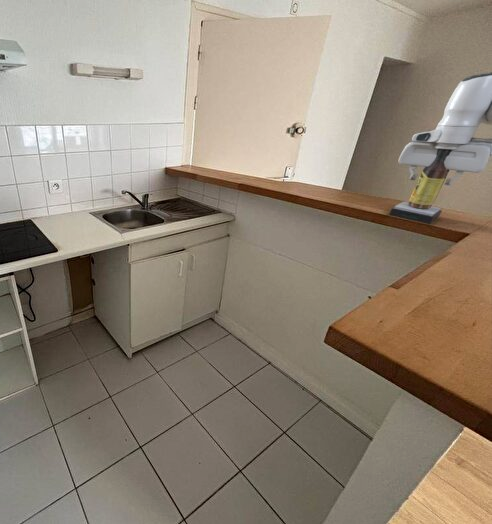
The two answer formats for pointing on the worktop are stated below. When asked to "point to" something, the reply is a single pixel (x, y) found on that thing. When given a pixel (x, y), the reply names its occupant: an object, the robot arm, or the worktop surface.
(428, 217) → the kitchen scale
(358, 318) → the worktop surface
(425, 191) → the sauce bottle
